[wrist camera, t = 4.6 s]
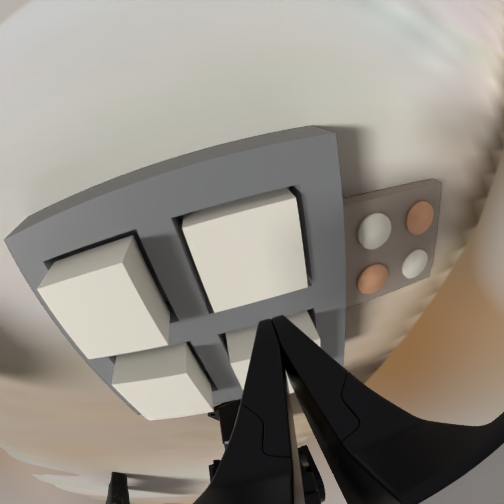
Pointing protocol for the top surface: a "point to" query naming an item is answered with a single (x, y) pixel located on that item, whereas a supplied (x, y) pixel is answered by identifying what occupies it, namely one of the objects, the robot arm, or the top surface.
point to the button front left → (107, 300)
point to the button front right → (247, 248)
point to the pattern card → (389, 238)
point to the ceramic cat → (118, 490)
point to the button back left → (163, 382)
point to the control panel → (177, 250)
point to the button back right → (243, 344)
